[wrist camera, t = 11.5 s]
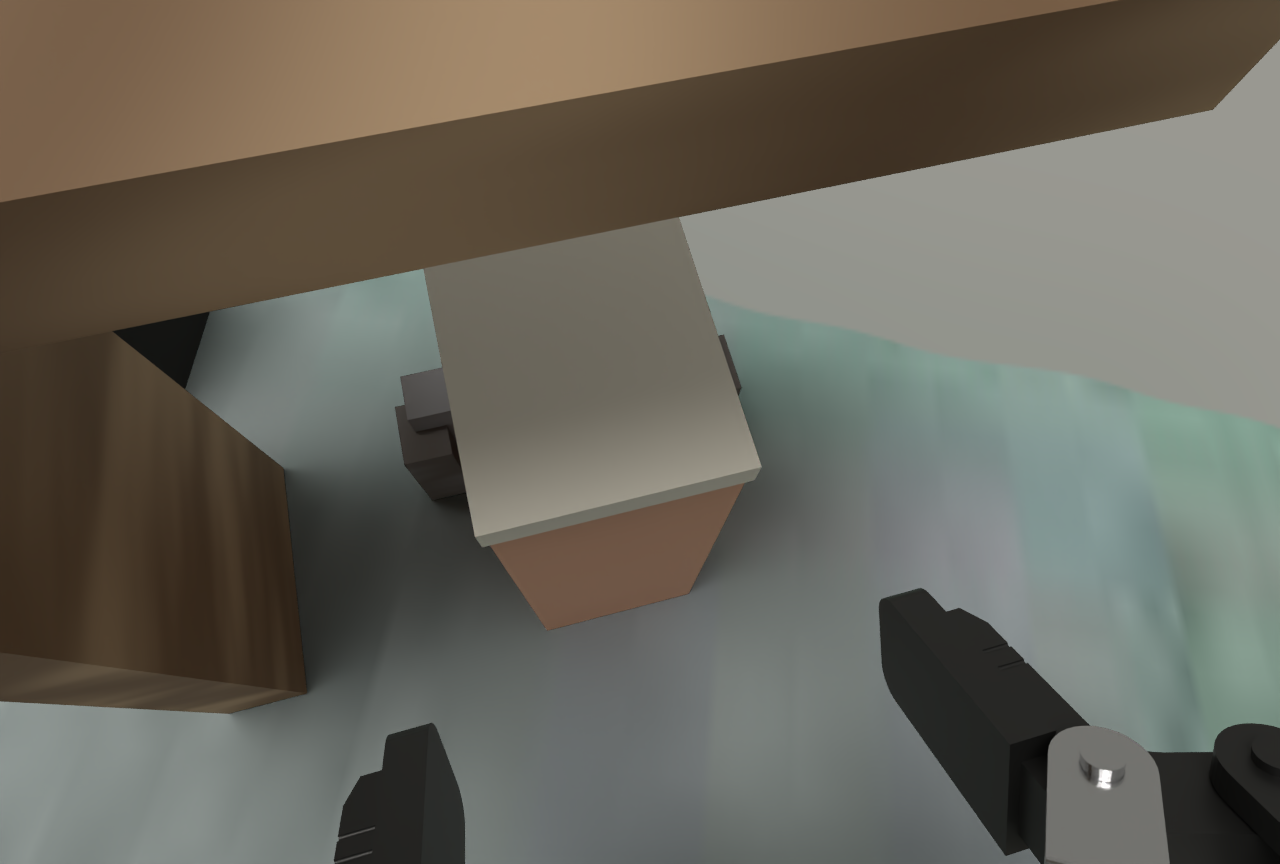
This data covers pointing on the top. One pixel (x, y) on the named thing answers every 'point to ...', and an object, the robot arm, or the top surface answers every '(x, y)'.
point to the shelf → (418, 233)
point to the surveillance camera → (168, 344)
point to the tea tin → (592, 416)
